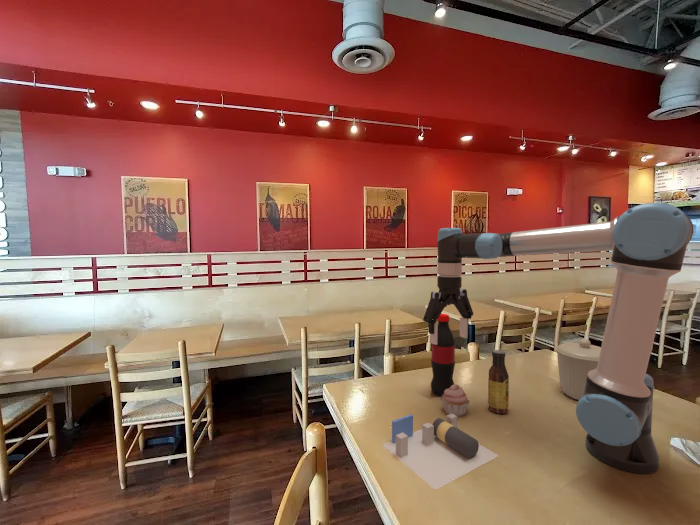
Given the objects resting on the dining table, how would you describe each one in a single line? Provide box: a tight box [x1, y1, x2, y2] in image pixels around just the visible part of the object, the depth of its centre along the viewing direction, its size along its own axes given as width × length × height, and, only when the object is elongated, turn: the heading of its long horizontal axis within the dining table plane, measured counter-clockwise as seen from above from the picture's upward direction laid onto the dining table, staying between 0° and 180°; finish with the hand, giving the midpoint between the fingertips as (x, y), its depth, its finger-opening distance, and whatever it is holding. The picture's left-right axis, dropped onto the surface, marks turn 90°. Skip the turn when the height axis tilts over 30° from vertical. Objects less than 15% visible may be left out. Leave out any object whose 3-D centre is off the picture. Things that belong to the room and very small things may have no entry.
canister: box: [554, 338, 601, 401], centre depth 123 cm, size 18×18×21 cm
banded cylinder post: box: [431, 417, 480, 459], centre depth 92 cm, size 12×5×5 cm, turn 32°
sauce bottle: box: [487, 349, 510, 415], centre depth 113 cm, size 7×6×20 cm
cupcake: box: [439, 383, 471, 417], centre depth 111 cm, size 9×9×10 cm
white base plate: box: [381, 413, 500, 491], centre depth 91 cm, size 20×23×7 cm
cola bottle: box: [430, 313, 456, 398], centre depth 125 cm, size 8×8×30 cm
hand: (448, 340), depth 111 cm, fingers open, 13 cm apart
